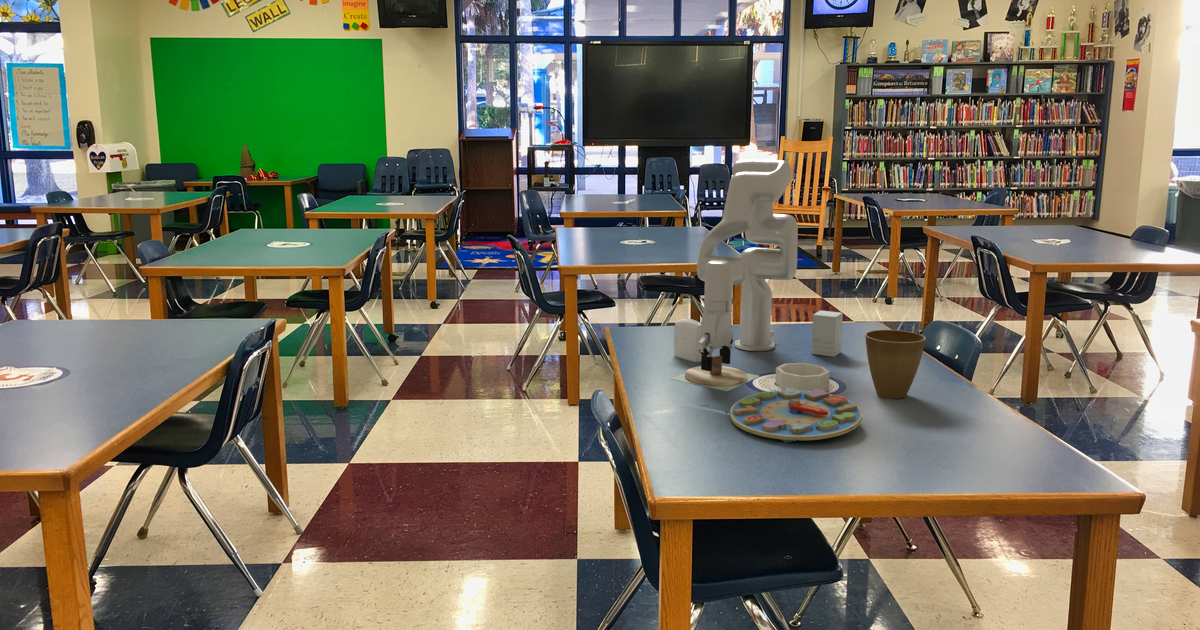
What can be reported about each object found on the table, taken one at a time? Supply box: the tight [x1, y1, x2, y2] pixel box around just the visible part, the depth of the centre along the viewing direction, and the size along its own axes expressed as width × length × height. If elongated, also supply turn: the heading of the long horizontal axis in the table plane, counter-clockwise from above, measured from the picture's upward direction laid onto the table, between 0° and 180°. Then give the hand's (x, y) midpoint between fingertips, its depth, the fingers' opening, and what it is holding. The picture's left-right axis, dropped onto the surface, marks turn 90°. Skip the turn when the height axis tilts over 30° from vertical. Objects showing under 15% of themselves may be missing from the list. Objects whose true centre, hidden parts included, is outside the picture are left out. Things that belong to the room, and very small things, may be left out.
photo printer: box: [673, 318, 701, 363], centre depth 263 cm, size 10×4×12 cm, turn 39°
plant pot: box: [864, 329, 927, 399], centre depth 230 cm, size 15×15×16 cm
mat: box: [670, 372, 761, 392], centre depth 244 cm, size 18×18×1 cm
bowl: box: [774, 362, 831, 392], centre depth 237 cm, size 13×13×5 cm
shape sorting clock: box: [729, 388, 863, 443], centre depth 209 cm, size 31×30×6 cm
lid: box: [684, 354, 747, 386], centre depth 243 cm, size 17×17×6 cm
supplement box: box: [811, 310, 844, 358], centre depth 271 cm, size 7×7×13 cm
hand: (715, 366), depth 243 cm, fingers open, 9 cm apart
